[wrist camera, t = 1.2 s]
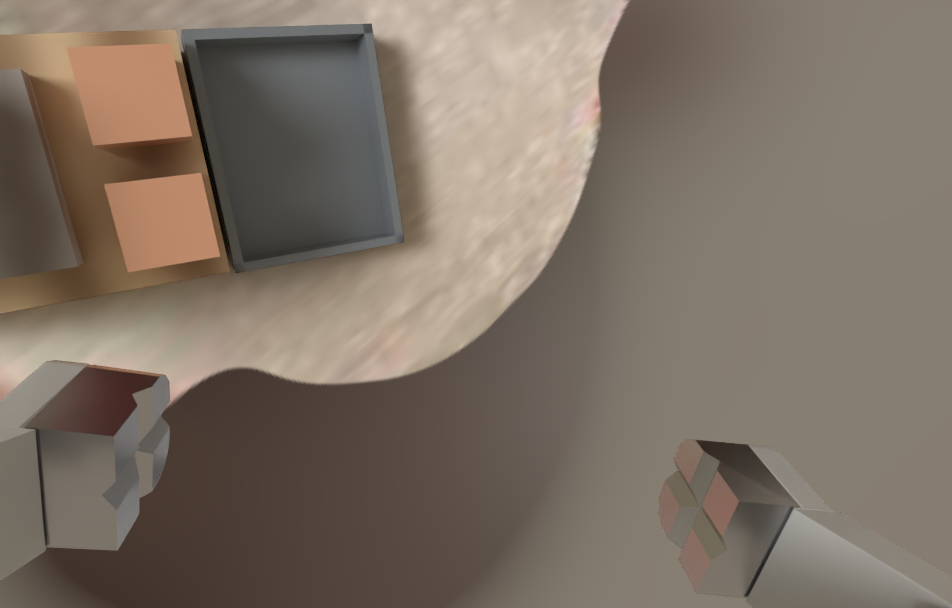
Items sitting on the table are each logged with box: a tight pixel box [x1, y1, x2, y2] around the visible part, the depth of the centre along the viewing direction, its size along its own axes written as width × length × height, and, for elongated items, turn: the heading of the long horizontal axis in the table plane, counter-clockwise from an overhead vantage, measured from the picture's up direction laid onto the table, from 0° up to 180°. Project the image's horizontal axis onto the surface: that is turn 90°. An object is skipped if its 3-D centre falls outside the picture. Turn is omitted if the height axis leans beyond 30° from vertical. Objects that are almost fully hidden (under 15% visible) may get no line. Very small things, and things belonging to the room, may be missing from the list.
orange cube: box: [66, 43, 192, 150], centre depth 32 cm, size 4×4×4 cm
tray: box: [181, 24, 404, 273], centre depth 42 cm, size 12×15×3 cm
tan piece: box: [0, 30, 230, 314], centre depth 35 cm, size 18×14×6 cm
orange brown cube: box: [104, 173, 220, 272], centre depth 33 cm, size 4×4×4 cm
